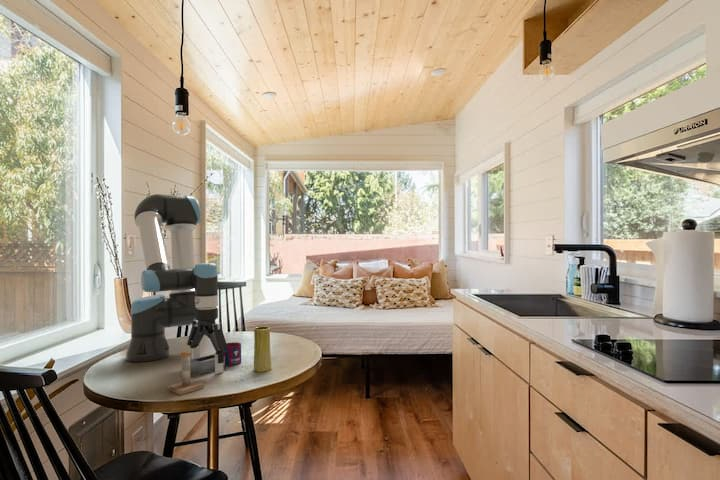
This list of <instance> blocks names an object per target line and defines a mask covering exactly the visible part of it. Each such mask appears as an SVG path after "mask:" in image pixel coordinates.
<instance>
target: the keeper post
mask: <svg viewBox="0 0 720 480" xmlns="http://www.w3.org/2000/svg"><path fill="white" fill-rule="evenodd" d="M180 357H181V359H180V360H181V381H180V382H178V383H175V384H171V385H168V391H170V392H172V393H175V394H178V395H180V396H183V395H186V394H189V393H192V392H195V391H198V390H201V389H204V383H201V382H199V381H197V380H196V381H195V380H192V379H191V372H190V359H191V351H190V350H185V351H181V352H180Z"/></svg>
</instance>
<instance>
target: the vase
mask: <svg viewBox="0 0 720 480" xmlns="http://www.w3.org/2000/svg"><path fill="white" fill-rule="evenodd" d="M270 330H271V328H270V326H258V327H254V330H253V331H254V332H253V333H254V334H253V337H254V338H253V339H254V343H253V345H254V346H253V349H254V352H253V354H254V355H253V371H254V372H256V373H263V372H264V373H265V372H269V371H271V370H272V355H271V333H270V332H271V331H270Z"/></svg>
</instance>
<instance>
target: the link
mask: <svg viewBox="0 0 720 480" xmlns="http://www.w3.org/2000/svg"><path fill="white" fill-rule="evenodd" d="M225 368H226V366H225V356H224V362H223V369H225ZM212 372H215V353H211V354H206V355H202V356H200V357H198V358H194V359H192V358H190V374H194V375H197V376H200V375H205V374H207V373H212Z"/></svg>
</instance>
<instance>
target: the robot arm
mask: <svg viewBox="0 0 720 480" xmlns="http://www.w3.org/2000/svg"><path fill="white" fill-rule="evenodd" d="M201 212H202V211H201V206H200V203H199V201H198V199H197V198H196V197H194V196H191V195H190V196H189V195H185V194H184V195H177V194H161V193H160V194H159V193H156V194H151V195H149V196H147V197H145V198H144V199H142V200H141V202H139V203H138V205H137V206H136V209H135V210H134V224H135V226H136V227H138V229H139V235H140V240H141V241H140V242H141V247H142V252H143V259H144V264H145V269H146V270H143V271H142V272H141V276H140V277H141V278H140V279H141V280H140V281H141V289H142V291H143V292H145V293H160V292H169V293H168V294H169V297H165V295H164V294H155V295H148V296H143V297H139V298H137V299H136V298H135V300H133V301H132V302H131V308H130V315H131V316H130V317H131V318H130V319H131V321H130V325H131V326H130V333H131V335H130V337H131V338H130V341H129V345H128V348H127V350H126V353H125V360H126V361H127V360H128V361H127V362H132V363H142V362H145V363H146V362H151V361H156V360H161V359H164V358H167V357H169V356H170V355H171V349H170V346H169V343H168V340H167V337H166V331H165V330H166V328H175V327H182V326H183V327H184V326H191V329H190V332H189V336H188V340H187V343H186V344H187V346H188V347H190V348H191V349H190V350H191V351H190V357H191V359H194V358H198V357H201V353H200V352H201V351H200V343H201V342H202V339H203V337H204V336H205V337H207V338H208V339H210V341H211V344H212V346H213V348H214V350H215V353H214V354H215V371H214V374H215V375H218V374H220V373H224V368H223V362H224V352H226V351H228V347H227V344H226V343H227V341H226V337H225V335H224V331H223V327H222V322H218V323H216V320H217V319H219V308H218V306H219V293H218V292H219V291H218V290H219V289H218V288H219V287H218V283H219V282H218V281H219V280H218V275H219V272H218V265H217V264H216V263H215V262H207V263H206V262H205V263H196V264H195V248H194V247H195V246H194V245H195V244H194V230H195V229H196V228H197V227H198V226H197V225H198V224H200V222H201V219H202V217H201V215H202V213H201ZM163 223H164V224H165V225H166V229H168V230H169V231H170V242H171V245H170V246H171V266H172V267H170V262H169V255H168V252H167V248H166V243H165V238H164V234H163V230H162V224H163Z"/></svg>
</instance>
